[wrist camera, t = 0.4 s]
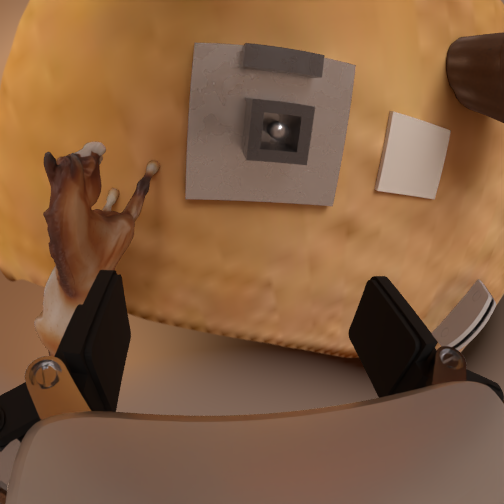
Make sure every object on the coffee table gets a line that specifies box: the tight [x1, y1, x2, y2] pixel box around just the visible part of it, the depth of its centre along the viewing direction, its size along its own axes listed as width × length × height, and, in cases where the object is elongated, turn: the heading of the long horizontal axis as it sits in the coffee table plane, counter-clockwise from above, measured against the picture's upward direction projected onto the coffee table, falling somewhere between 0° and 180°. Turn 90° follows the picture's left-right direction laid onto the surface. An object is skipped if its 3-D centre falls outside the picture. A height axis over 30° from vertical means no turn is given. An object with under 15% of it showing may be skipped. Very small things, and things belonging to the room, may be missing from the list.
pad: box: [375, 111, 451, 199], centre depth 36 cm, size 11×11×1 cm
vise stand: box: [186, 43, 356, 206], centre depth 30 cm, size 18×18×6 cm
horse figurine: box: [34, 142, 160, 357], centre depth 28 cm, size 31×8×21 cm, turn 145°
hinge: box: [431, 279, 496, 350], centre depth 51 cm, size 17×5×10 cm, turn 148°
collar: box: [242, 98, 315, 165], centre depth 29 cm, size 6×6×5 cm
